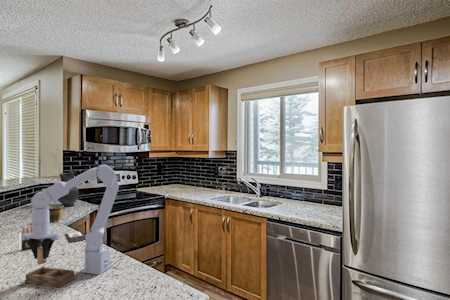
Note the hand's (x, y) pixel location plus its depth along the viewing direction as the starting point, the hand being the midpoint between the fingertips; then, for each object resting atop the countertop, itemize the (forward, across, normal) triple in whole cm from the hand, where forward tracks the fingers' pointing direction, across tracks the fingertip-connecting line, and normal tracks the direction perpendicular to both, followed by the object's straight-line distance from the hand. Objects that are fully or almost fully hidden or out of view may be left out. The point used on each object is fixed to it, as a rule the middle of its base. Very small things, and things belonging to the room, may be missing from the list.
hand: (41, 257), depth 116 cm
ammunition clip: (+9, +28, -34) cm, 45 cm away
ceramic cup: (+9, +51, -85) cm, 100 cm away
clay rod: (+2, 0, 0) cm, 2 cm away
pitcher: (+9, +71, -137) cm, 154 cm away
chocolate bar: (+9, +16, -52) cm, 55 cm away
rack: (+8, -4, +1) cm, 9 cm away
